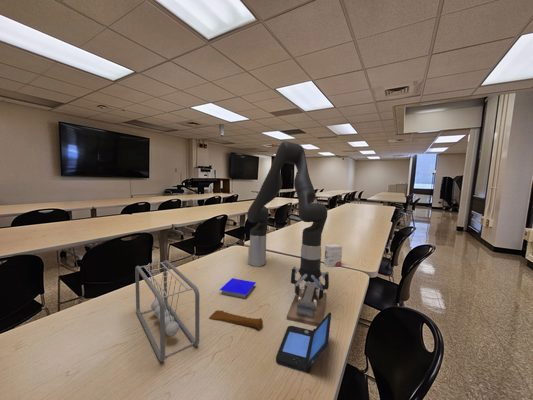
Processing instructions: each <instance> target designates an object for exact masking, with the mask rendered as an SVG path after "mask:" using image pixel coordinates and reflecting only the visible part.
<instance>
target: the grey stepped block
mask: <svg viewBox="0 0 533 400" xmlns="http://www.w3.org/2000/svg"><path fill="white" fill-rule="evenodd" d="M303 287H305V294H304V297H303V300H300V299H299V301H298V303H297V315H298V316H303V317H307V318H312V319H313V315H314V302H313V300H314V296H315V297H316V290H319V287H318V286H317V285H316V283H315V282H313V283H311V282H304V286H303Z"/></svg>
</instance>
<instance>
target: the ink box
mask: <svg viewBox="0 0 533 400" xmlns="http://www.w3.org/2000/svg"><path fill="white" fill-rule="evenodd" d="M342 255H343V246H342V245H340V244H338V243H337V244H336V243H334V244H333V243H331V244H324V259H323V262H324V263H323V264H324V265H325V264H326V265H328V266H333V267H341V266H342V257H343V256H342ZM326 265H325V266H326Z"/></svg>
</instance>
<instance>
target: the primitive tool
mask: <svg viewBox="0 0 533 400" xmlns="http://www.w3.org/2000/svg"><path fill="white" fill-rule="evenodd" d="M208 319H209V320H212V321H218V322H225V323H230V324H235V325H241V326H245V327H246V326H247V327H250V328H251V327H252V328H255V329H256V330H257V331H261V329H263V327H264V323H263V319H262V317H260V318H253V317H247V316H243V315H238V314H234V313H229V312H228V311H227V312H226V311H224V310H220V309H219V310H215V311H214V312H213V313H212V314H211V315H210V316H209V317H208Z"/></svg>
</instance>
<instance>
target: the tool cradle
mask: <svg viewBox="0 0 533 400" xmlns="http://www.w3.org/2000/svg"><path fill="white" fill-rule="evenodd" d="M304 294H305V287H304V286H303V287H301V288H300V289H299V295H297V293H295V296H294V298H293V301H292V303H291V305H290V308H289V310H288V312H287V314H286V320H288V321H293V322H297V323H301V324H306V325H309V326H310V325H311V326H314V327H317V326H318V325H319V324H320V323H321V322H322V320H323V319H324V314H325V306H326V302H327V293H326V292H323V298H321V300H320V299H319V290H316V297H315V296H314V300H313V302H314V315H313V319H312V318H307V317H303V316H298V315H297V303H298V301H299V299H300V300H303V297H304Z"/></svg>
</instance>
